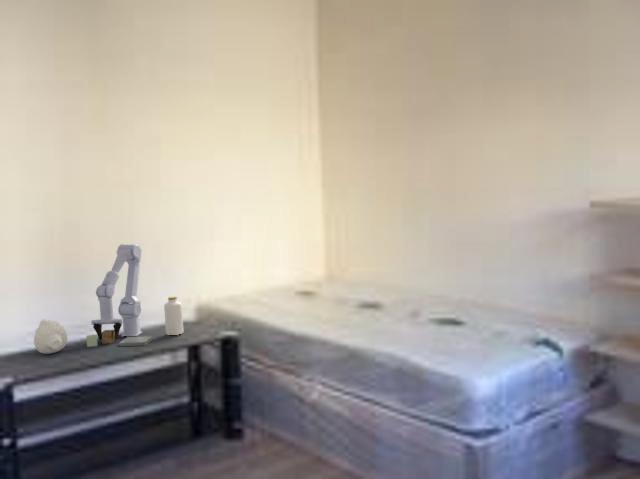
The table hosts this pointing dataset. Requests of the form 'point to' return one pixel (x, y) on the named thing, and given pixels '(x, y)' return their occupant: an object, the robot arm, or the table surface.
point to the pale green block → (91, 340)
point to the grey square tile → (135, 341)
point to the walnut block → (108, 336)
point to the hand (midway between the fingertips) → (108, 339)
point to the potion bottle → (173, 317)
